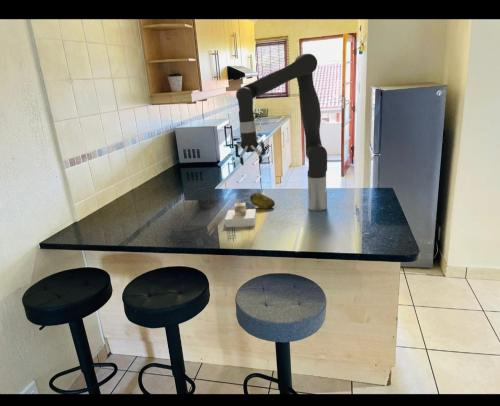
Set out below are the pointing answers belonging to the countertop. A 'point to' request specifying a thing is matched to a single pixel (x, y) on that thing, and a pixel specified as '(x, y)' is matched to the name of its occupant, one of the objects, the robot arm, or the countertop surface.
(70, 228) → the countertop surface
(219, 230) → the countertop surface
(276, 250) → the countertop surface
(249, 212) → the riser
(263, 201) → the potato
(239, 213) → the birch block
